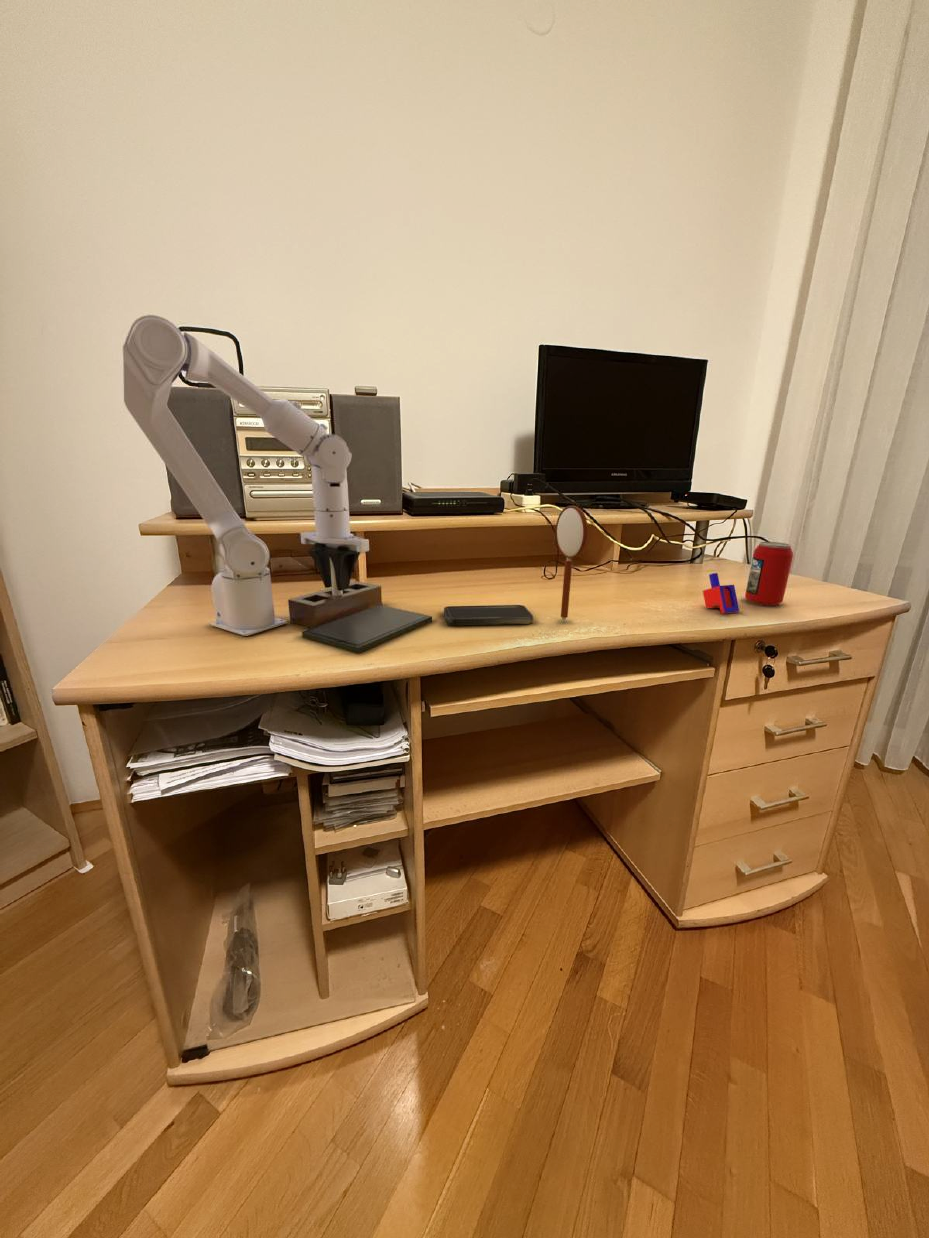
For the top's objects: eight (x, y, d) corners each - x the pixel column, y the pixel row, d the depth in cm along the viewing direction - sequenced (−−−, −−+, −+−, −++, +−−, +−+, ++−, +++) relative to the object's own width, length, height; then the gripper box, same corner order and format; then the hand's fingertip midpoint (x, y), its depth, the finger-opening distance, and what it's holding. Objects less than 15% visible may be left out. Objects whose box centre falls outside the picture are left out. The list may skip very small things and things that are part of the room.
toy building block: (722, 615, 96) (714, 576, 97) (739, 611, 92) (731, 570, 93) (707, 616, 95) (699, 577, 96) (724, 612, 91) (716, 571, 92)
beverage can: (746, 596, 105) (757, 540, 101) (783, 601, 101) (796, 543, 97) (741, 602, 99) (753, 544, 96) (780, 609, 96) (794, 548, 92)
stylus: (331, 613, 88) (327, 553, 85) (338, 611, 90) (335, 551, 86) (338, 615, 87) (334, 554, 84) (346, 613, 89) (342, 553, 85)
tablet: (302, 637, 76) (301, 631, 76) (379, 609, 91) (379, 604, 91) (358, 654, 70) (358, 647, 70) (432, 621, 85) (432, 615, 84)
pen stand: (289, 622, 83) (287, 599, 82) (357, 600, 96) (356, 580, 95) (315, 629, 80) (314, 605, 79) (382, 606, 93) (381, 585, 92)
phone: (443, 606, 89) (523, 604, 91) (443, 612, 90) (523, 610, 92) (447, 619, 82) (534, 617, 84) (447, 626, 82) (534, 623, 84)
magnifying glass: (547, 615, 89) (554, 503, 83) (555, 614, 90) (563, 503, 84) (573, 630, 82) (583, 508, 75) (581, 629, 82) (593, 508, 76)
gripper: (380, 511, 82) (383, 589, 86) (320, 505, 89) (325, 578, 94) (349, 514, 76) (354, 598, 81) (288, 508, 84) (295, 585, 88)
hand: (336, 588), depth 87 cm, fingers open, 3 cm apart
